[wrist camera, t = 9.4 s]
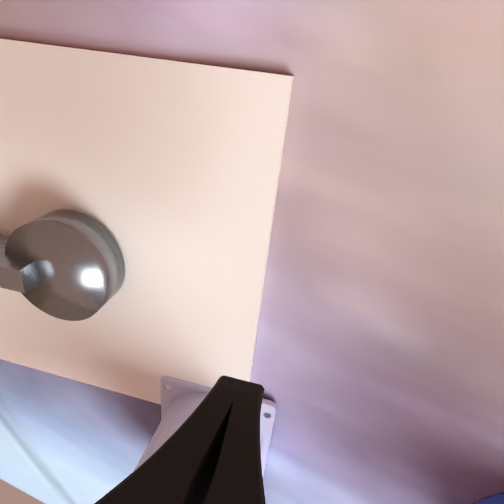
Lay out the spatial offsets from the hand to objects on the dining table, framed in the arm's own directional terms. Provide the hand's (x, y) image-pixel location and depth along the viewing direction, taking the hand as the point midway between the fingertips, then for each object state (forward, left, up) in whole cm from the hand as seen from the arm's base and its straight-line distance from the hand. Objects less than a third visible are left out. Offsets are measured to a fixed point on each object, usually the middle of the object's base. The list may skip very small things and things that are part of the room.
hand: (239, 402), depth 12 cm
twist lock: (-2, +15, -9) cm, 18 cm away
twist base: (-2, +12, -9) cm, 15 cm away
